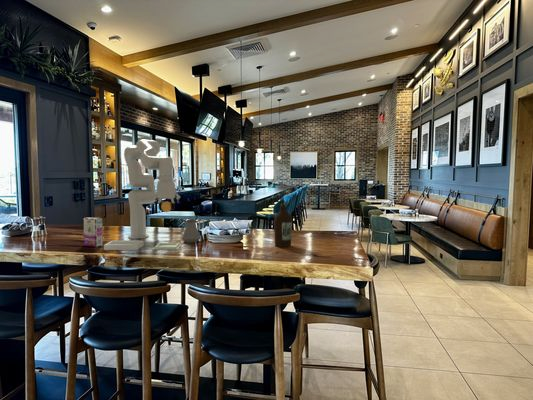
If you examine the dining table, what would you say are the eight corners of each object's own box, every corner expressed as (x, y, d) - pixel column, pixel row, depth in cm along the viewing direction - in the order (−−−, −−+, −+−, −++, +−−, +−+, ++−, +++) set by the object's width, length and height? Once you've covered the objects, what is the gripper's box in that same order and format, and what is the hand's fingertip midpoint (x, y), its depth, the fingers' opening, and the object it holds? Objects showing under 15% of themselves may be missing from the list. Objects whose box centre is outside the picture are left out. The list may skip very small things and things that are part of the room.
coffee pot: (197, 243, 209) (197, 219, 208) (179, 243, 210) (178, 218, 209) (206, 237, 230) (206, 215, 229) (189, 237, 231) (189, 214, 230)
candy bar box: (103, 245, 202) (103, 218, 201) (96, 247, 198) (95, 219, 197) (91, 243, 207) (90, 216, 206) (83, 245, 203) (82, 217, 202)
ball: (162, 211, 200) (162, 201, 199) (173, 211, 200) (172, 201, 200) (160, 212, 194) (159, 201, 193) (170, 212, 194) (170, 201, 194)
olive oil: (270, 245, 205) (270, 203, 203) (284, 243, 211) (285, 202, 209) (280, 248, 196) (281, 204, 194) (295, 246, 202) (296, 204, 200)
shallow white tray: (112, 245, 202) (112, 240, 202) (143, 245, 204) (143, 240, 203) (104, 250, 190) (104, 244, 190) (137, 249, 192) (137, 244, 191)
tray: (157, 245, 205) (157, 242, 204) (181, 244, 206) (181, 242, 205) (151, 249, 192) (151, 247, 192) (177, 249, 193) (177, 247, 193)
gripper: (148, 178, 191) (149, 211, 193) (180, 178, 193) (180, 210, 194) (152, 178, 199) (153, 209, 200) (182, 178, 200) (183, 209, 201)
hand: (166, 209), depth 197 cm, fingers closed on ball, 5 cm apart
